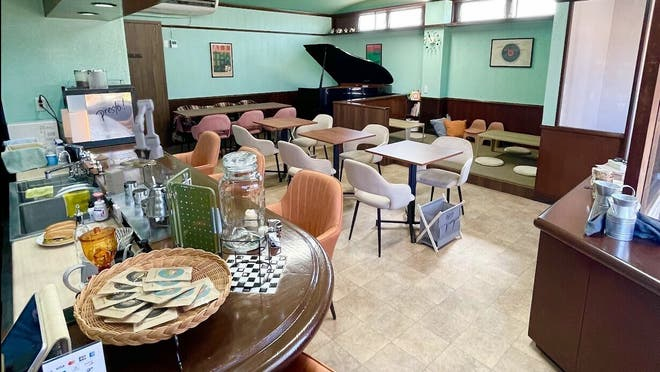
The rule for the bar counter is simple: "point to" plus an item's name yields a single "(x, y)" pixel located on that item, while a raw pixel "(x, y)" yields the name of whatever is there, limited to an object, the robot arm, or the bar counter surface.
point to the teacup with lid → (104, 161)
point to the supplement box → (115, 180)
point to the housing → (143, 160)
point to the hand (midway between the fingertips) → (144, 159)
